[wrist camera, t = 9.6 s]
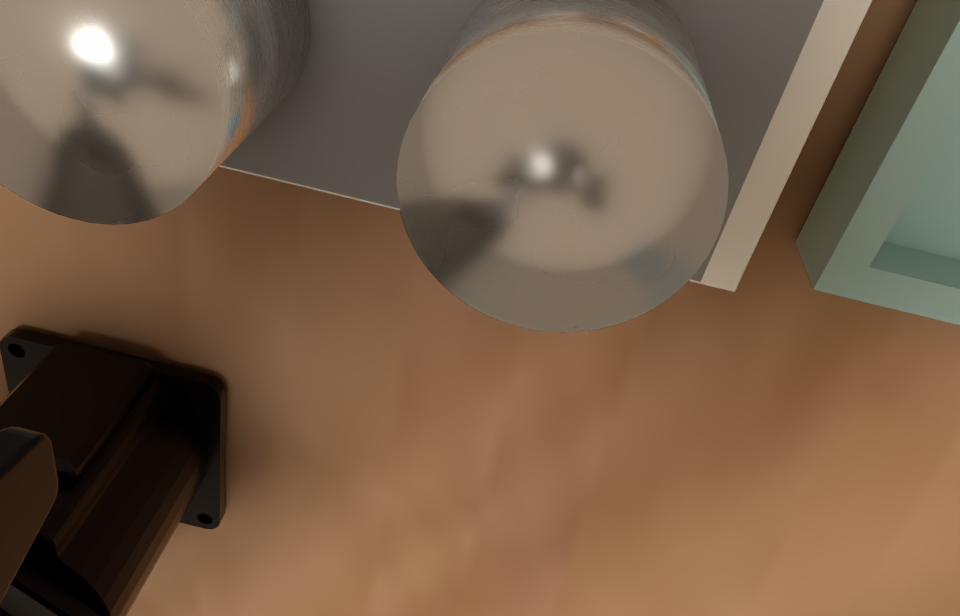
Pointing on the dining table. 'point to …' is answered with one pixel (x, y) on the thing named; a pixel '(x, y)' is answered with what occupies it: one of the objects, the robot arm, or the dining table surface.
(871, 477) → the dining table surface
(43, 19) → the cylinder
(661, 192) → the cylinder
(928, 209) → the tray
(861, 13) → the scale
